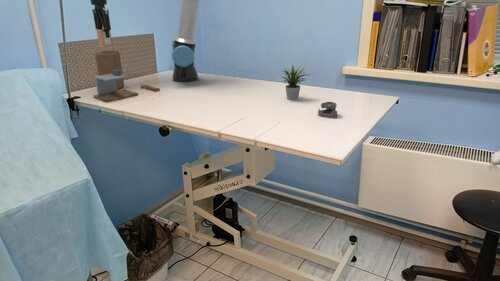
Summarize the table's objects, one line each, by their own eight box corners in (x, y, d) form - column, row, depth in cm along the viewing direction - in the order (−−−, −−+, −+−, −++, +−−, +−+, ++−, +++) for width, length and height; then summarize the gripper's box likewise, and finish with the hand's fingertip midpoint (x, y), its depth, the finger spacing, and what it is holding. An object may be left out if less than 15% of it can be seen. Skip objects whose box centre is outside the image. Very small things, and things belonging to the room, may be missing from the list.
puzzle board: (145, 86, 203) (145, 84, 202) (159, 90, 194) (159, 88, 193) (93, 97, 183) (93, 95, 182) (106, 102, 174) (106, 100, 173)
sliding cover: (116, 90, 190) (112, 68, 185) (128, 94, 182) (124, 71, 177) (98, 94, 183) (93, 71, 178) (109, 98, 175) (105, 74, 171)
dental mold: (341, 115, 149) (342, 103, 148) (333, 119, 145) (334, 107, 143) (324, 112, 154) (324, 100, 152) (316, 116, 149) (316, 104, 147)
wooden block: (118, 90, 196) (112, 53, 188) (100, 90, 196) (93, 53, 188) (125, 86, 205) (119, 50, 197) (107, 86, 205) (101, 50, 198)
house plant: (294, 105, 163) (295, 69, 157) (271, 100, 172) (271, 65, 166) (312, 99, 173) (314, 64, 167) (289, 94, 182) (290, 61, 176)
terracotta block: (108, 46, 195) (105, 28, 192) (112, 46, 192) (109, 29, 189) (99, 47, 192) (96, 29, 188) (103, 48, 189) (100, 30, 185)
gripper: (82, -4, 186) (91, 43, 195) (98, -4, 174) (106, 45, 183) (97, -4, 191) (104, 41, 200) (113, -4, 179) (120, 44, 188)
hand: (105, 43), depth 191 cm, fingers closed on terracotta block, 5 cm apart
